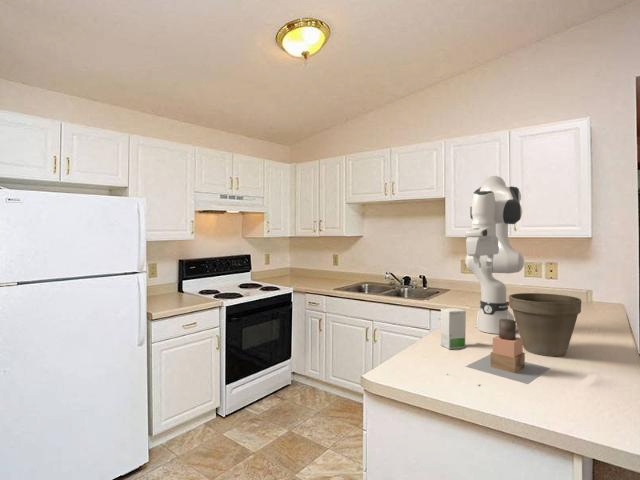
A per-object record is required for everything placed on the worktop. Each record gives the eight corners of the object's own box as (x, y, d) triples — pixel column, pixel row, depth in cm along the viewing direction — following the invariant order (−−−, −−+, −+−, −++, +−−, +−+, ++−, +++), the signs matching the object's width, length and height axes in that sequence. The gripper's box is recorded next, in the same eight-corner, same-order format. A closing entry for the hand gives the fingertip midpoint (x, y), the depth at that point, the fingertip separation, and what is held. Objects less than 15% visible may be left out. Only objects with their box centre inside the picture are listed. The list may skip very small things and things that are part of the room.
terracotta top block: (501, 348, 132) (501, 334, 132) (522, 352, 126) (522, 338, 126) (492, 352, 127) (492, 337, 127) (514, 357, 122) (514, 342, 122)
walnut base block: (500, 361, 133) (500, 347, 132) (524, 367, 126) (524, 352, 126) (490, 366, 127) (490, 352, 127) (515, 373, 121) (515, 358, 121)
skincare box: (448, 349, 151) (448, 311, 151) (439, 345, 157) (439, 308, 157) (466, 348, 153) (466, 310, 153) (456, 343, 159) (456, 307, 159)
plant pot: (495, 345, 157) (495, 294, 156) (537, 339, 165) (537, 290, 165) (550, 364, 133) (550, 304, 133) (596, 356, 142) (596, 299, 141)
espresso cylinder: (503, 335, 130) (503, 318, 130) (518, 338, 126) (518, 320, 126) (496, 338, 127) (496, 320, 127) (511, 341, 123) (512, 323, 123)
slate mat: (491, 357, 141) (491, 353, 141) (550, 372, 126) (550, 368, 126) (465, 370, 128) (465, 366, 128) (527, 388, 113) (527, 384, 113)
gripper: (487, 231, 156) (487, 264, 156) (463, 232, 142) (463, 268, 143) (503, 231, 151) (503, 265, 151) (479, 231, 138) (479, 269, 138)
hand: (483, 266), depth 147 cm, fingers open, 8 cm apart
